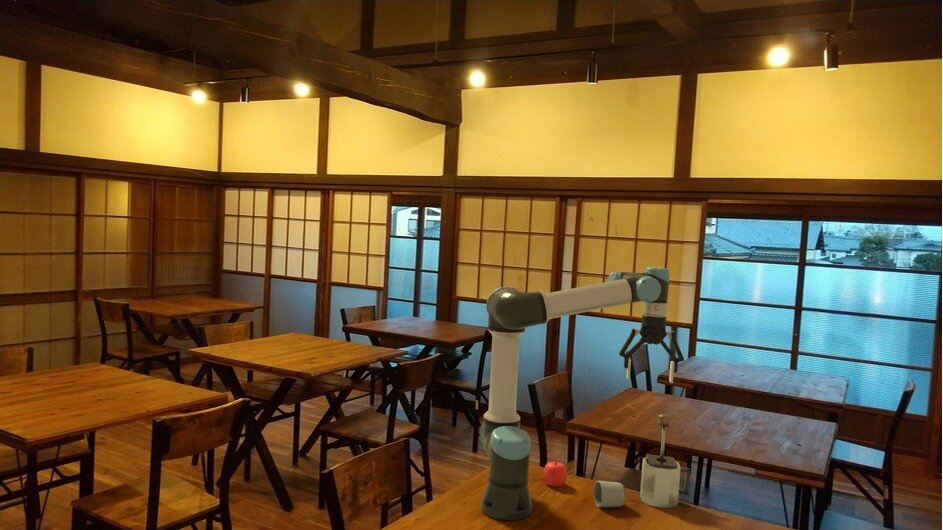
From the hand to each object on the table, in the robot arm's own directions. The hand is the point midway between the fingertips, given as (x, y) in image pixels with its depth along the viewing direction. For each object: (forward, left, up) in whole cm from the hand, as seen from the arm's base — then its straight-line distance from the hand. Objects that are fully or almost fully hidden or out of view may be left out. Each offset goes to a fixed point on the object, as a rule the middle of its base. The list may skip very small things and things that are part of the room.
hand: (649, 380), depth 214 cm
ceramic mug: (-12, -14, -37) cm, 41 cm away
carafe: (+6, -7, -37) cm, 38 cm away
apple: (-28, -3, -37) cm, 47 cm away
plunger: (+5, -7, -27) cm, 28 cm away
